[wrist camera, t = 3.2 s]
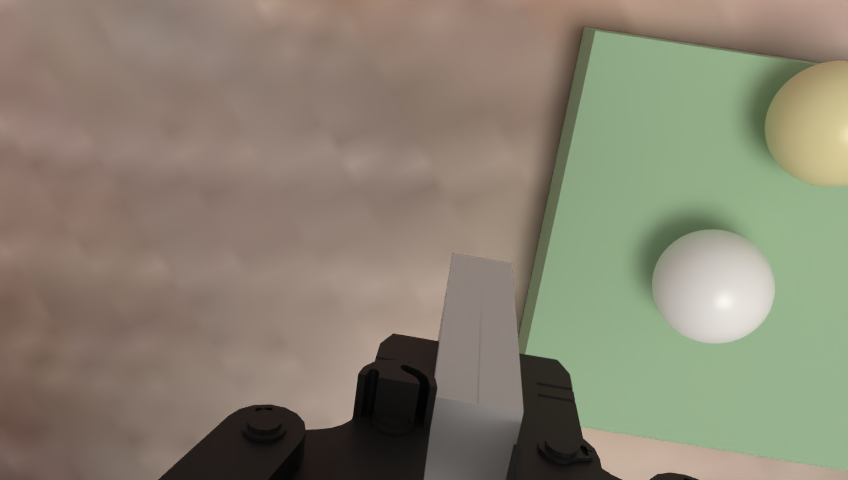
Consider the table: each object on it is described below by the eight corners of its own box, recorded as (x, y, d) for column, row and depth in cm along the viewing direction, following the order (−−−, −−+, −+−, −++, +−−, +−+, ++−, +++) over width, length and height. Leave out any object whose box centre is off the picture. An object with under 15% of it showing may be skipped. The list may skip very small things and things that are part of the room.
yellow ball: (732, 161, 23) (776, 190, 19) (766, 46, 22) (820, 57, 18) (844, 178, 23) (907, 211, 19) (885, 64, 22) (960, 78, 18)
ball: (629, 304, 25) (653, 354, 21) (656, 207, 24) (685, 243, 20) (732, 321, 25) (773, 373, 21) (764, 223, 23) (812, 264, 20)
